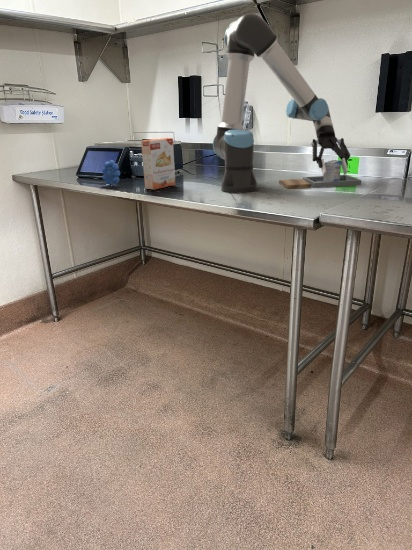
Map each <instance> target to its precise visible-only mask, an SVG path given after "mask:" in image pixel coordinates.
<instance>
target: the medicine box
mask: <svg viewBox="0 0 412 550" xmlns="http://www.w3.org/2000/svg"><path fill="white" fill-rule="evenodd" d="M324 163H325V167H326V171H327V172H326V174H325V176H324V179H323V181H322V182H331V181H341V180H340V175H341V171H342V165H341V159H340V160H339V159H337V160H336V159H332V160H328V161H324Z"/></svg>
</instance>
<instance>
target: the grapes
mask: <svg viewBox="0 0 412 550" xmlns="http://www.w3.org/2000/svg"><path fill="white" fill-rule="evenodd" d="M103 166H104V167H103V168H101V172H102V173H103V175H102V180H103V181H105V185H107V184H115V185H116V184H118V183H119V182H120V178H119V177H120V176H121V171H120V170H119V164H118V163H115V161H114V160H112V159H110V160H109V161H105V163H104V165H103Z"/></svg>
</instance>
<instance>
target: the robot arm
mask: <svg viewBox="0 0 412 550" xmlns="http://www.w3.org/2000/svg"><path fill="white" fill-rule="evenodd" d="M223 38H224V45H225V46H226V48H225V57H226V58H227V60H228V64H227V72H226V73H227V74H226V81H225V90H224V98H223V99H224V100H223V106H222V108H223V109H222V116H221V117H222V118H221V122H220V123H219V124H218V125H217V126H216V127H217V128H216V134H215V136H214V138H213V141H212V148H213V152H214V154H215V155H217V157H219V158H220V159H222V160H224V174H223V179H222V182H221V189H220V190H221V191H222V190H223V191H222V192H225V191H226V192H225V193H232V192H242V193H250V192H255V191H257V190H258V189H259V188H258V186H259V185H258V180H257V177H256V174H255V170H254V152H255V151H254V150H255V149H254V148H255V146H254V145H255V144H254V143H255V139H254V133H253V132H252V131H251V130H249V129H248V130H247V129H245V128H244V126H243V125H242V124H243V116H244V108H245V101H246V100H245V99H246V94H247V92H246V91H247V85H248V80H249V79H248V76H249V71H250V70H249V69H250V63H251V62H252V61H253V60H254V58H255V56H256V57H257V58H261V59H262V60H263V62H264V63H265V64H266V65H267V67H268V68H269V69H270V70H271V71H272V73H273V74H274V75H275V77H276V78H277V79H278V80H279V81H280V83H281V85H282V86H283V87H284V88H285V90H286V91H287V92H288V94H289V95H290V96H291V98H292V99H290V100H289V101H288V103H287V105H286V110H285V114H286V116H287V117H288V118H291V119H293V120H294V119H296V120H301V121H311V122H312V123H313V126H314V130H315V135H316V139H315V138H313V139H312V141H311V147H312V162H316V164H318V168H319V169H320V170H321V173H322V176H325V174H326V172H327V171H326V167H325V159H324V158H322V157H323V154H324V151H325V150H328V149H330V150H331V151H333V152H334V153H335V154H336V156H338V158H339V159H340V161H341V170H342V172H343V175H347V173H348V165H349V163H348V160H350V158H351V154H350V151H349V150H348V147H347V146H346V143H345V139H344V138H343V137H341V138H340V139H338V138H337V137H336V132H335V129H334V125H333V124H334V123H333V122H332V117H331V113H330V108H329V107H330V106H329V105H328V103H327V99H326V100H325V99H324V98H322V97H318V96H317V94H315V91H314V90H313V89H312V88H311V86H310V85H309V84H308V82H307V81H306V80H305V78H304V77H303V75H302V74H301V73H300V71H299V70H298V68H297V67H296V65H295V64H294V63H293V62H292V60H291V59H290V57H289V56H288V55H287V53H286V52H285V51H284V49H283V47H282V46H281V45H280V44H279V43H278V39H279V38H278V36H277V34H276V33H275V32H274V30H273V29H272V28H271V26H270V25H269V24H268V23H267V22H266V20H265V19H263V17H261V16H260V15H258V14H256V13H246V14H245V13H244V15H242V16H241V17H239V18H236V19H235V20H233V21H232V22H231V23H230V24H229V25H228V27H227V28H226V29H225V33H224V37H223ZM318 145H319V146H320V150H319V154H318Z"/></svg>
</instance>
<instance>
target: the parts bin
mask: <svg viewBox="0 0 412 550" xmlns="http://www.w3.org/2000/svg"><path fill="white" fill-rule="evenodd" d="M302 179H303V180H305V181H306V182H308V183H310V184H311V188H313V189H315V188H316V189H317V188H334V187H335V188H336V187H348V186H349V187H351V186H361V185H362V179H359V178H357V177H354V176H351V175H349V174H346V175H344V174H340V181H331V182H323V179H324V176H323V175H317V176H316V175H315V176H302Z"/></svg>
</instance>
